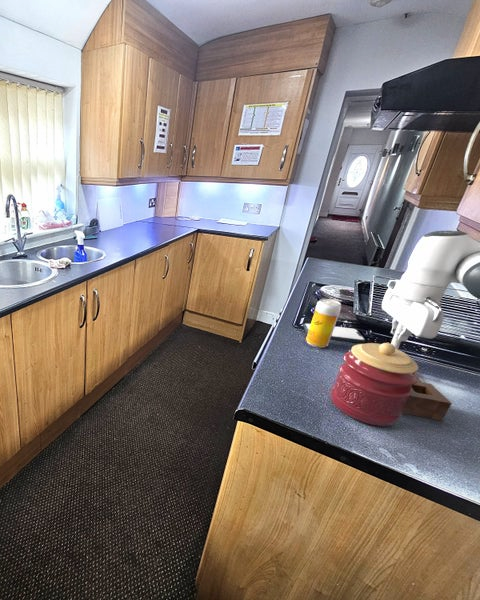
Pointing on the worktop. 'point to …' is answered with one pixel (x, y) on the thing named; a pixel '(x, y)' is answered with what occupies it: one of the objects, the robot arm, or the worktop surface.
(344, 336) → the phone case
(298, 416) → the worktop surface
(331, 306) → the pint of beer
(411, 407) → the pen stand
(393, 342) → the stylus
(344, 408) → the kitchen canister
